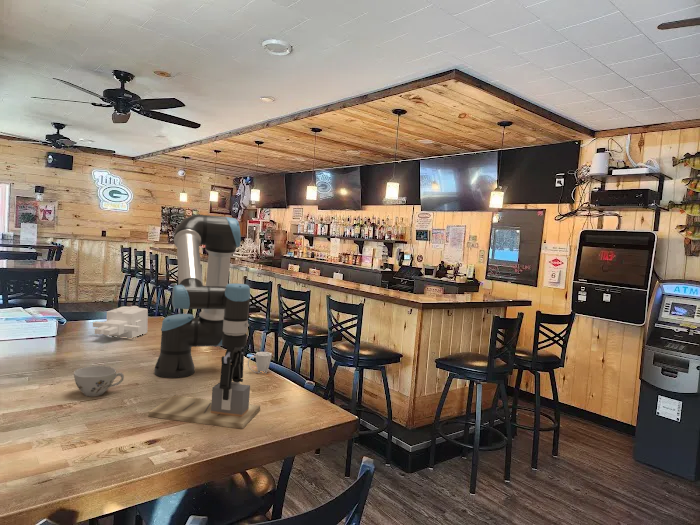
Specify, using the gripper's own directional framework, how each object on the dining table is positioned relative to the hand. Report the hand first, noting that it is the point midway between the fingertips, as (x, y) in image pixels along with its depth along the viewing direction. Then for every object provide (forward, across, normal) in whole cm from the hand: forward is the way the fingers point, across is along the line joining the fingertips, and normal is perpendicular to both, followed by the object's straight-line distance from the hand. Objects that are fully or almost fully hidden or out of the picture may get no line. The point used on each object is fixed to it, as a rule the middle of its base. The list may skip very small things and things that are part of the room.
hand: (230, 405), depth 146 cm
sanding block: (+2, 0, 0) cm, 2 cm away
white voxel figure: (+4, +81, +92) cm, 122 cm away
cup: (+4, +49, +7) cm, 50 cm away
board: (+3, 0, +8) cm, 8 cm away
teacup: (+4, +5, +49) cm, 49 cm away
